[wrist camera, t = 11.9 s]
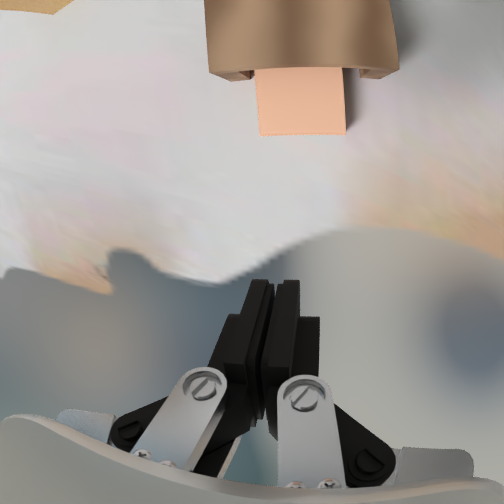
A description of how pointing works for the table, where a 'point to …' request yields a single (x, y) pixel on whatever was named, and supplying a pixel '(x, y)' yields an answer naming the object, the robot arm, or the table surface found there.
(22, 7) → the sandwich container
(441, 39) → the table surface
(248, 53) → the wooden bridge block
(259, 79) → the peach flat block
